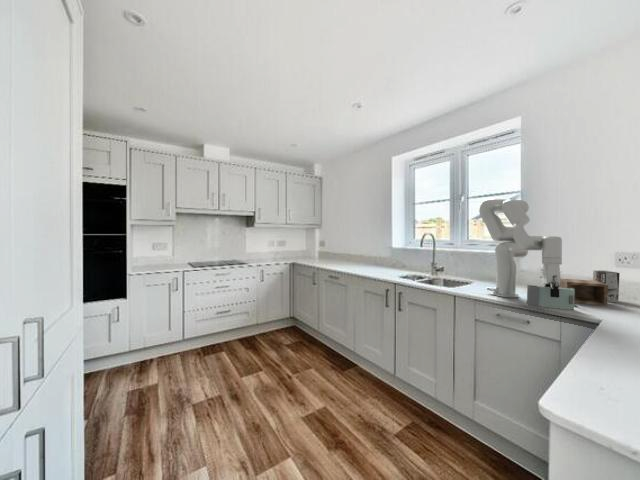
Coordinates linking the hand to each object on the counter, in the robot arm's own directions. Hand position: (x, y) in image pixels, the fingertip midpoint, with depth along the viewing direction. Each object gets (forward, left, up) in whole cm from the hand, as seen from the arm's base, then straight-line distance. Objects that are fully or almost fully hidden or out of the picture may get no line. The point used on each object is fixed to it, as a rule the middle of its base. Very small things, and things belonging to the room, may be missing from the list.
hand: (551, 295), depth 134 cm
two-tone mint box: (0, +1, -6) cm, 6 cm away
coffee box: (+32, +34, -6) cm, 47 cm away
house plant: (+9, +44, -6) cm, 45 cm away
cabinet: (+18, +19, -6) cm, 27 cm away
